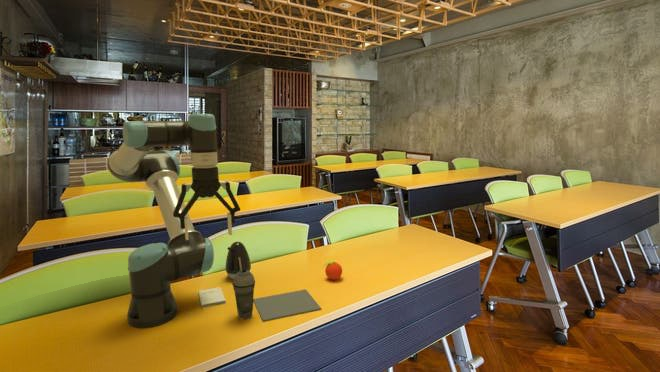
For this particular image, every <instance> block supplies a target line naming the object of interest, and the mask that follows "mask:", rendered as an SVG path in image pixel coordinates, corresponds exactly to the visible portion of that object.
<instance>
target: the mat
mask: <svg viewBox="0 0 660 372" xmlns="http://www.w3.org/2000/svg"><path fill="white" fill-rule="evenodd" d="M253 304H254V305H255V308H256V310H257V312H258V314H259V316H260V319H261V320H262V322H268V321H272V320H277V319H283V318H287V317H292V316H297V315H302V314H306V313H307V314H308V313H311V312H316V311H320V310H322V307H321V306H320V305H319V303H318V301H316V300H315V299H314V297H313V296H312V295H311V294H310V292H309V291H308V290H307V289H301V290H294V291H289V292H285V293H278V294H273V295H268V296H262V297H258V298H253Z"/></svg>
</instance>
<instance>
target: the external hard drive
mask: <svg viewBox="0 0 660 372" xmlns="http://www.w3.org/2000/svg"><path fill="white" fill-rule="evenodd" d="M197 292H198V298H199V303H200V307H201V309H202V308H208V307H212V306H218V305H223V304H226V302H227V301H226V299H225V296H224V293H223V290H222V288H221V287H220V286H218V287H214V288H206V289H201V290H198V291H197Z"/></svg>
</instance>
